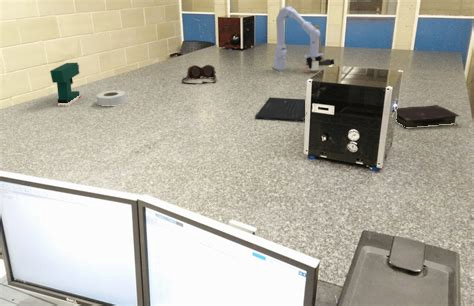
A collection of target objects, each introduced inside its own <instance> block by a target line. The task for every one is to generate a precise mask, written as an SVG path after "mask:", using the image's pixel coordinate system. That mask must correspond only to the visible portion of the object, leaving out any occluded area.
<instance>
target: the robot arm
mask: <svg viewBox="0 0 474 306" xmlns="http://www.w3.org/2000/svg"><path fill="white" fill-rule="evenodd" d="M288 18H290V19H291V18H293V19H294V20H295V21H297V22H298V23H299V24H300V25H301V28H302V30H303V31H305V32H306V34H308V35H309V38H310V44H309V45H310V47H309V54H304V56H303V59H304V60H306V61H307V62H308V64H307V67H308V66H309V68H310V69H311V67H312V60H317V61H319V63H320V61H321V59H322V57H323V58H324V54H325V53H323V52H322V53H320V54H318V50H319V38H318V37H319V36H320V37H321V31H320V29H319V30H318V29H316V28H314V27H313V26H314V25H313V24H312V22H311V21H306V20H305V19H304V18H303V17H302V16H301V15H300V14H299V13H298V12H297V10H296V9H295V8H293V6H291V5H289V6H285V7H282V8H281V9H280V10H279V12H278V14H277V16H276V22H275V23H276V46H275V50H274V54H273V55H274V58H273V65H272V66H273V68H272V70H273V71H275V72H280V71H281V70H286V64H287V63H286V62H287V61H286V59H287V58H286V56H287V54H288V50H287V46H286V43H285V21H286V20H287V19H288Z"/></svg>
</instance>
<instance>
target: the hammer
mask: <svg viewBox="0 0 474 306" xmlns="http://www.w3.org/2000/svg"><path fill="white" fill-rule="evenodd" d="M312 26H313V27H314V28H316V29H318V30H319V31H320V27H319V25H312ZM318 38H319V50H318V54H320V53H323V50H322V49H323V48H322V43H321V42H322V41H321V35H320V36H319V37H318ZM305 63H306V64H307V65H308V62H307V60H306V61H305ZM328 65H330V66H332V65H335V59H334V58H332V59H329V58H327V59H325V58H324V56H323V57H322V59H321V61H320V63H319V66H328ZM328 67H329V66H328Z"/></svg>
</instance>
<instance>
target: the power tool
mask: <svg viewBox="0 0 474 306" xmlns="http://www.w3.org/2000/svg"><path fill="white" fill-rule="evenodd" d="M49 73H50V77H51V83H56V87H57V95H58V96H57V97H58V99H57V104H58V103H68V102H70V101H71V100H73V99H74V98H76V97H77V96H79V95H81V94H80V91H78V90H76V91H75V90H73V91H72V85H73V84H74V80H73V78H74V77H76V76H77V75H79V74H80V64H78V62H65V63H64V64H61V65H59V66H58V67H55V68H54V69H51V70H50V71H49Z"/></svg>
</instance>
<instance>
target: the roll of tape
mask: <svg viewBox="0 0 474 306" xmlns="http://www.w3.org/2000/svg"><path fill="white" fill-rule="evenodd" d="M96 100H97V105H98V104H100V105H118V104H122V103H124V102H126V103H127V96H126V92H125V91H124V90H119V89H118V90H107V91H103V92H100V93H98V94H96Z"/></svg>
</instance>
